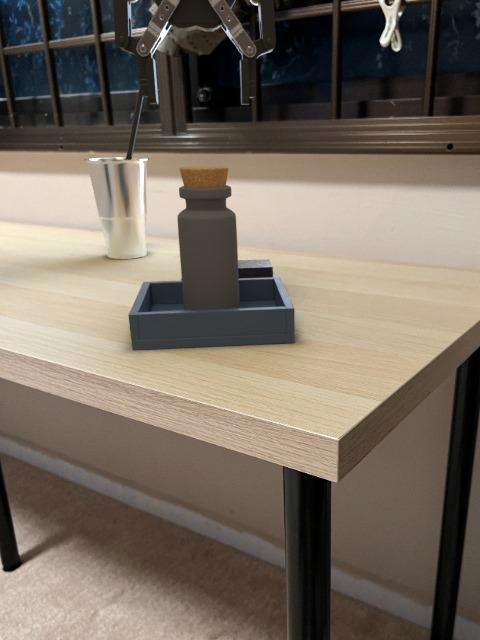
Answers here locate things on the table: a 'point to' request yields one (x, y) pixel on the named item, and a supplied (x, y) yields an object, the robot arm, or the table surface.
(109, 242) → the glass
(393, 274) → the table surface
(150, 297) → the tray
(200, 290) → the bottle
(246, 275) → the scrub brush
